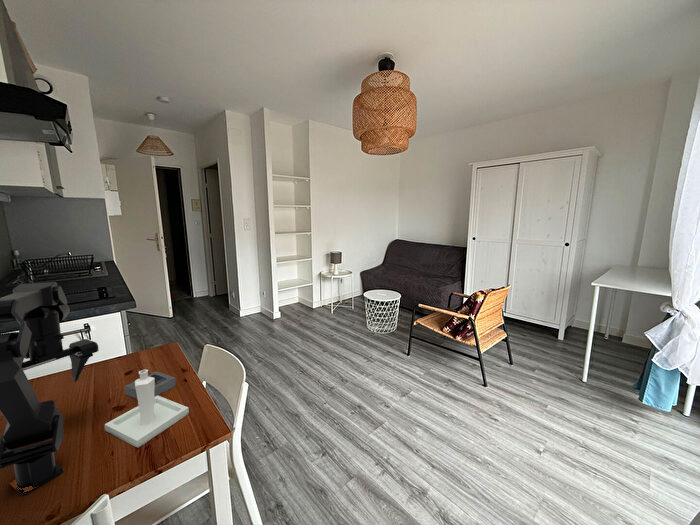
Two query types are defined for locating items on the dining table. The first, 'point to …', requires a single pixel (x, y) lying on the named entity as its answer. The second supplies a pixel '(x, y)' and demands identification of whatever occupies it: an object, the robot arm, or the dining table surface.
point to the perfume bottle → (145, 397)
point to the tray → (138, 435)
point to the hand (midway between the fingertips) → (51, 390)
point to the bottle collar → (164, 385)
